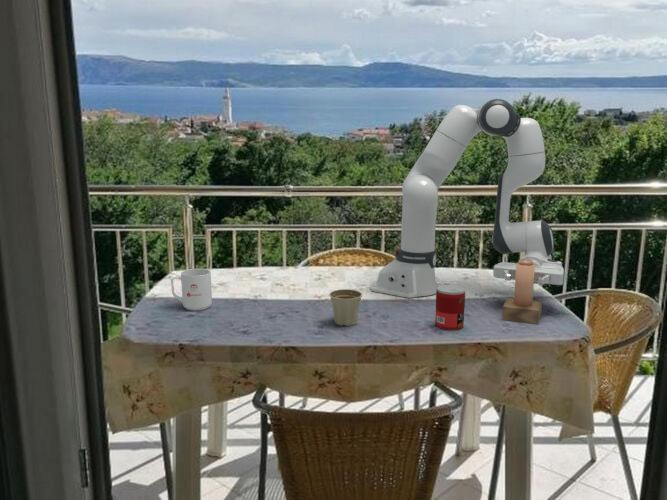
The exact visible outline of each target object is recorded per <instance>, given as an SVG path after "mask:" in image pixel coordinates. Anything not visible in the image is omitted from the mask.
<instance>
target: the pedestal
mask: <svg viewBox="0 0 667 500" xmlns="http://www.w3.org/2000/svg"><path fill="white" fill-rule="evenodd" d="M542 308H543V300H537V299H533V300H532V305H531V306H518V305H515V304H514V297H509V296H508V297H507V298H506V300H505V301H504V303H503V305H502V313H501V314H502V315H501V316H502V318H501V320H502V321H510V322H519V323H525V324H535V325H539V321H540V319H541V316H542V311H543V309H542Z"/></svg>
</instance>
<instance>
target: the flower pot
mask: <svg viewBox="0 0 667 500" xmlns="http://www.w3.org/2000/svg"><path fill="white" fill-rule="evenodd" d="M328 296H329V298H330V300H331V303H332V311H333V318H334V323H335V324H336V325H338V326H345V327H349V326H350V327H351V326H354V325H356V324H357V321H358V316H359V315H358V313H359V306H360V302H361V299H362V297H363V293H362V292H361V291H359V290H355V289H349V288H343V289H336V290H333V291H330V292H329V293H328Z"/></svg>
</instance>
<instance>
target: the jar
mask: <svg viewBox="0 0 667 500" xmlns="http://www.w3.org/2000/svg"><path fill="white" fill-rule="evenodd" d="M534 273H535V264H534V263H533V260H529V259H522V258H520V259H518V262H516V277H515V280H514V293H513V294H514V296H513V298H514V304H515V305H518V306H531V305H532V300H534V299H533V298H534V297H533V296H534V285H535V284H534Z"/></svg>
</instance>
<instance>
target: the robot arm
mask: <svg viewBox="0 0 667 500" xmlns="http://www.w3.org/2000/svg"><path fill="white" fill-rule="evenodd" d="M478 133H484V134H487V135H489V136H492V137H494V136H499V137H502V138H503V139H504V140H505V142H506V146H507V147H506V148H507V156H508V157H507V167H506V169H505V171H504V172H502V173H501V174H500V176H499V178H498V183H497V191H496V201H495V202H496V203H495V215H494V224H493V230H492V234H491V235H492V236H491V237H492V238H491V239H492V240H491V242H492V247H493V249H495V250H496V251H497V252H499V253H500V254H501V255H507V254H509V255H510V254H515V253H525V254H524V255H523V256H522V258H521V259H529V260H533V263H534V264H535V273H534V285H535V284H538V285H542V286H543V285H545V284H546V285H547V284H548V285H555V286H563V285H564V275H565V271H564V270H565V269H564V267H563V263H562V262H561V261H560V260H559V261H558V260H555V259H552V255H551V254H552V253H553V251H554V249H555V237H554V236H555V235H554V231H553V229H552V227H551V226H550V225H549V224H548V223H547V222H546V221H545V220H530V221H529V220H528V221H520V222H519V221H518V222H517V221H516V222H510V221H509V218H510V209H511V208H510V207H511V206H510V205H511V198H512V195H513V193H514V192H516V191H517V190H518V189H520V188H522V187H524V186H526V185H528V184H530V183H533V182H535V180H537V179H538V178H539V177H541V176H542V175H543V173H544V171H545V169H546V152H545V151H546V150H545V144H544V137H543V133H542V129H541V126H540V124H539V122H538V121H537V120H535V119H533V118H532V117H521V116H520V115H519V114H518V112H517V111H516V109H515V108H514V107H513V105H511V104H510V102H508V101H507V100H505V99H501V98H493V99H490V100H487V101H486V102H484V103H483V104H482V105H481V106H479V107H477V108H473V107H471V106H469V105H466V104H457V105H455V106H454V107H452V108H451V110H450V111H449V112H448V113H447V114H446V116H444V118H443V120H442V121H441V122H440V124H439V126H437V128H436V130H435V132H434V133H433V135H432V136H431V138H430V140H429V141H428V143H427V145H426V147H425V148H424V150H423V152H422V153H421V154H420V156H419V157H418V159H417V160H416V162H415V163H414V165H413V166H412V168H411V169H410V170H409V173H408V174H407V176H406V177H405V179H404V180H403V183H402V187H401V191H402V205H401V206H402V209H401V211H402V212H401V233H400V234H401V235H400V236H401V238H400V246H398V247H397V248H396V250H395V251H394V255H393V256H394V259H393V260H391V262H389V263H387V264H386V265H385V266H383V267H382V268H381V269H380V271H379V273H378V276H377V280H376V281H374V282H372V283H371V285H370V291H372V292H375V293H380V294H386V295H392V296H397V297H401V298H402V297H403V298H407V299H413V298H418V297H426V296H432V295H435V294H436V289H437V287H438V284H437V280H436V268H435V267H436V263H437V250H436V248H435V247H436V246H435V245H436V224H437V212H438V200H439V199H438V198H439V188H441V186H442V185H443V183H444V181H445V180H446V179H447V178H448V176H449V175H450V174H451V172H452V171H453V170H454V169H455V168H456V165H457V163H458V162H459V161H460V159H461V157H462V156H463V153H464V152H465V151H466V149H467V147H468V145H469V144H470V143H471V141H472V139H473V138H474V137H475V136H476V135H477V134H478ZM516 263H517V262H516ZM516 263H515V262H508V261H507V262H505V261H501V262H498V263H497V264H494V266H493V270H492V271H493V272H492V273H493V277H494V278H496V279H504V280H505V281H511V280H512V281H515V277H516Z"/></svg>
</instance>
